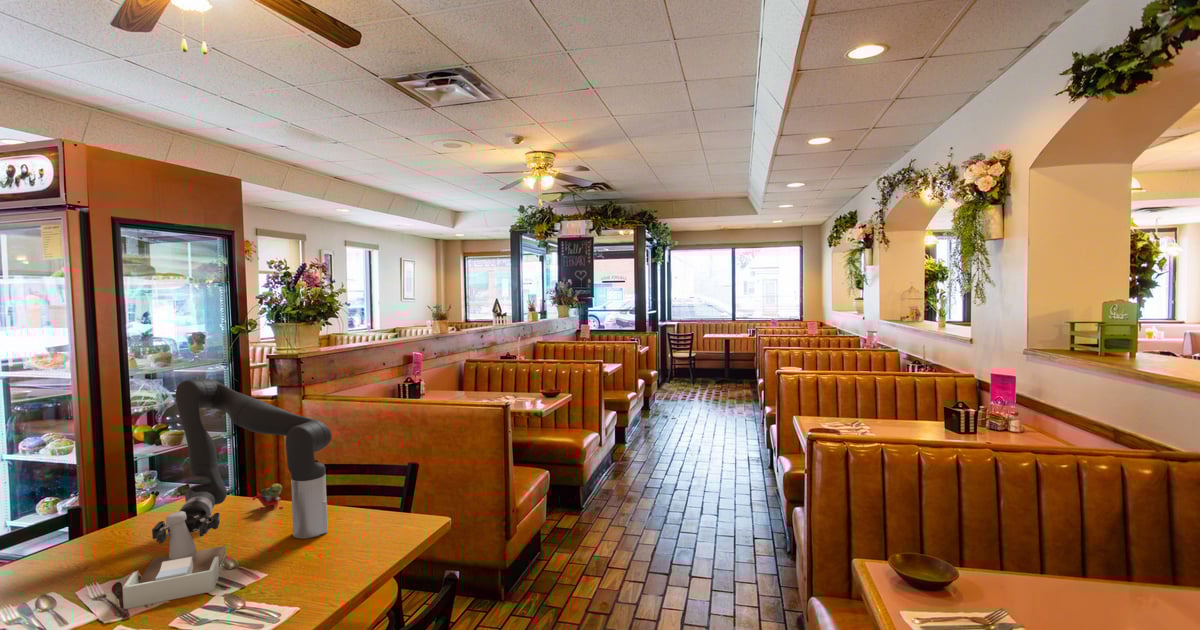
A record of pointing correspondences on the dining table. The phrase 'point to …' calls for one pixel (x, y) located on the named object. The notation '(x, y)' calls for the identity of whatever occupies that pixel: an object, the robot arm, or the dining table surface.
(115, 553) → the dining table surface
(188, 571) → the pale grey block
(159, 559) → the board
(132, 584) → the tray
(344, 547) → the dining table surface
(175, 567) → the beige block
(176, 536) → the salt shaker
